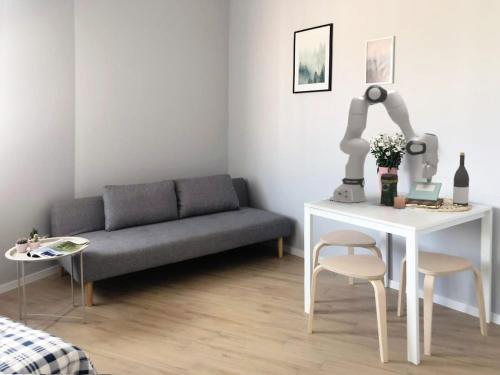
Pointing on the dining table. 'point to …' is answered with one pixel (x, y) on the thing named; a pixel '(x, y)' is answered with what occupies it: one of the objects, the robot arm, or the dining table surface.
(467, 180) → the wine bottle
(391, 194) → the coffee jar
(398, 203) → the peach round lump
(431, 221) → the dining table surface
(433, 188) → the teal display board
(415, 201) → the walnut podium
